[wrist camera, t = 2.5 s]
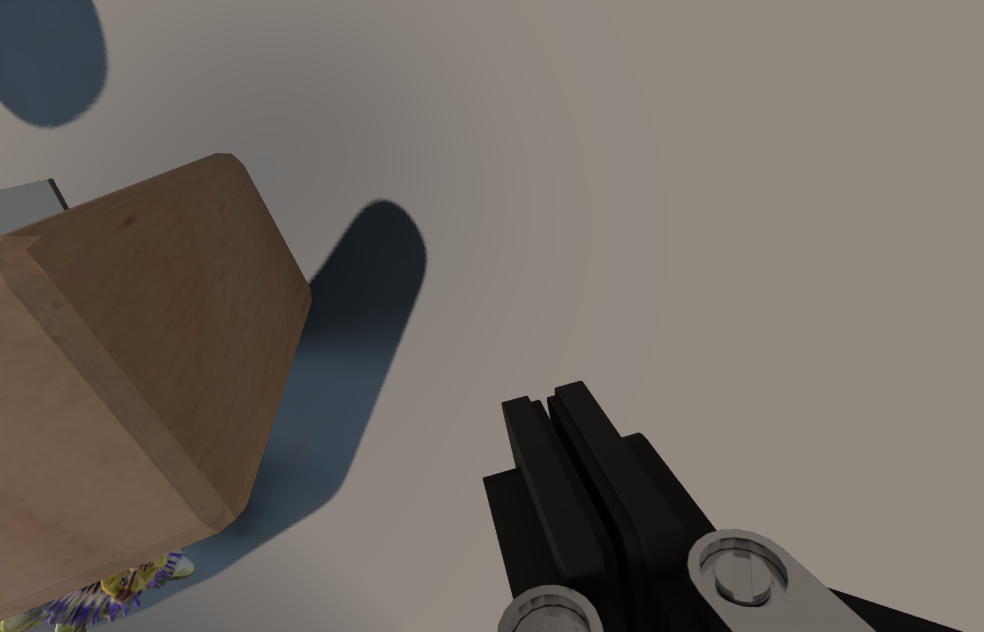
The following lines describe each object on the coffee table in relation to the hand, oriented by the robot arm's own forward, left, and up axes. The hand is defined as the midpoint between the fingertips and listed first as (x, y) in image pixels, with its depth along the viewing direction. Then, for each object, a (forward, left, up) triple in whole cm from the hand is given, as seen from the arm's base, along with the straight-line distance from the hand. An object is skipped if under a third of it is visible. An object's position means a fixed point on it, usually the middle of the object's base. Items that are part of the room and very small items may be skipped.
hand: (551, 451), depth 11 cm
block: (0, -14, -25) cm, 29 cm away
